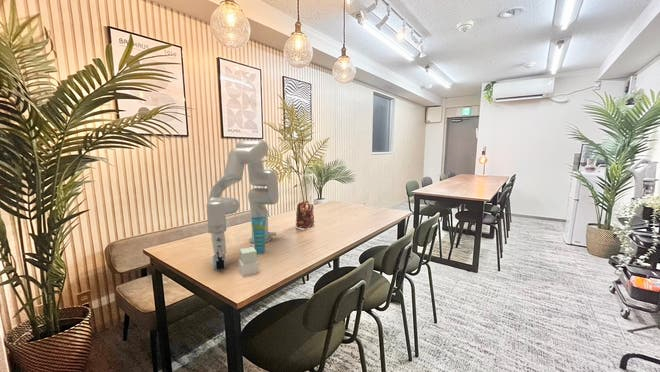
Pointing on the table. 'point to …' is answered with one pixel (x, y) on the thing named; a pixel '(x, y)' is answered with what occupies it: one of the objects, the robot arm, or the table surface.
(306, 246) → the table surface
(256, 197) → the robot arm
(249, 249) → the block top
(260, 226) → the tube
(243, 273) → the block base
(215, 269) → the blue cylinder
